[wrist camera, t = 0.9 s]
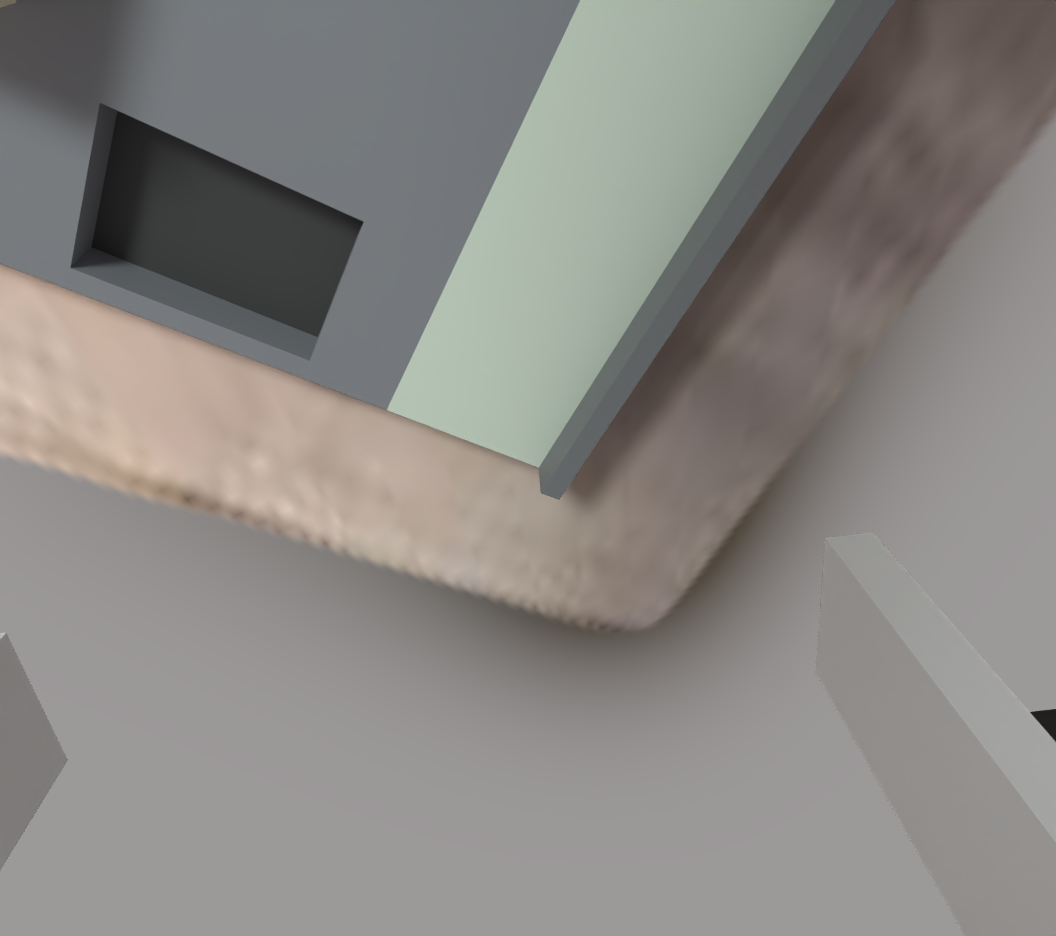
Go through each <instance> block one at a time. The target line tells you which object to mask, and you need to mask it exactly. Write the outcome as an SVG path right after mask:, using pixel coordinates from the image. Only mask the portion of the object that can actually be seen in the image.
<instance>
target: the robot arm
mask: <svg viewBox="0 0 1056 936" xmlns="http://www.w3.org/2000/svg"><path fill="white" fill-rule="evenodd" d="M816 660H817V661H816V674H817V676H818V678H819V679H820V681H821V683H822V685H823V687H824V689H825V690H826V692H827V694H828V696H829V697H830V699H831V701H832V703H833V704H834V706H835V708H836V710H837V711H838V713H839V715H840V717H841V719H842V720H843V722H844V724H845V726H846V727H847V729H848V731H849V733H850V734H851V736H852V738H853V740H854V741H855V743H856V745H857V747H858V748H859V750H860V752H861V754H862V755H863V757H864V759H865V761H866V762H867V764H868V766H869V768H870V770H871V771H872V773H873V775H874V777H875V778H876V780H877V782H878V784H879V785H880V787H881V789H882V791H883V792H884V794H885V796H886V798H887V800H888V801H889V803H890V805H891V806H892V808H893V810H894V812H895V814H896V815H897V817H898V819H899V821H900V823H901V824H902V826H903V828H904V829H905V831H906V833H907V835H908V837H909V838H910V840H911V842H912V844H913V845H914V847H915V849H916V851H917V852H918V854H919V856H920V858H921V860H922V861H923V863H924V865H925V867H926V868H927V870H928V872H929V874H930V875H931V877H932V879H933V881H934V882H935V884H936V886H937V888H938V889H939V891H940V893H941V895H942V896H943V898H944V900H945V902H946V904H947V905H948V907H949V909H950V911H951V912H952V914H953V916H954V918H955V919H956V921H957V923H958V925H959V927H960V928H961V930H962V932H963V933H964V935H965V936H1056V709H1052V710H1044V711H1035V712H1029V711H1028V710H1027V709H1026V707H1025V706H1024V705H1023V704H1022V703H1021V702H1020V700H1019V699H1018V698H1017V697H1016V696H1015V695H1014V694H1013V692H1012V691H1011V690H1010V689H1009V688H1008V687H1007V685H1006V684H1005V683H1004V682H1003V681H1002V680H1001V679H1000V678H999V676H997V674H996V673H995V672H994V671H993V669H992V668H991V667H990V666H989V665H988V664H987V663H986V662H985V660H984V659H983V658H982V657H981V656H980V655H979V653H978V652H977V651H976V650H975V649H974V648H973V647H972V645H971V644H970V643H969V642H968V641H967V640H966V639H965V637H964V636H963V635H962V634H961V633H960V632H959V630H958V629H957V628H956V627H955V626H954V625H953V624H952V622H950V620H949V619H948V618H947V617H946V616H945V614H944V613H943V612H942V611H941V610H940V609H939V608H938V606H937V605H936V604H935V603H934V602H933V601H932V600H931V598H930V597H929V596H928V595H927V594H926V593H925V592H924V590H923V589H922V588H921V587H920V586H919V585H918V584H917V582H916V581H915V580H914V579H913V578H912V577H911V575H910V574H909V573H908V572H907V571H906V570H905V569H904V567H903V566H902V565H901V564H900V563H899V562H898V561H897V559H896V558H895V557H894V556H893V555H892V554H891V553H890V551H889V550H888V549H887V548H886V547H885V546H884V545H883V543H882V542H881V541H880V540H879V539H878V538H877V537H876V535H875V534H874V533H873V532H869V533H861V534H852V535H843V536H835V537H826V538H825V545H824V560H823V573H822V588H821V603H820V616H819V630H818V646H817V659H816ZM66 762H67V758H66V756H65V754H64V751H63V750H62V747H61V745H60V743H59V741H58V739H57V737H56V735H55V733H54V731H53V729H52V727H51V724H50V722H49V720H48V718H47V716H46V714H45V712H44V710H43V708H42V706H41V704H40V702H39V700H38V698H37V695H36V693H35V692H34V689H33V687H32V685H31V683H30V681H29V679H28V677H27V675H26V673H25V671H24V669H23V666H22V664H21V662H20V660H19V658H18V656H17V654H16V652H15V650H14V648H13V646H12V644H11V642H10V640H9V638H8V635H7V633H0V870H1V868H2V867H3V865H4V863H5V862H6V860H7V858H8V857H9V855H10V853H11V852H12V850H13V849H14V847H15V845H16V844H17V842H18V840H19V839H20V837H21V836H22V834H23V832H24V831H25V829H26V827H27V826H28V824H29V822H30V821H31V819H32V818H33V816H34V814H35V813H36V811H37V809H38V808H39V806H40V804H41V803H42V801H43V800H44V798H45V796H46V795H47V793H48V791H49V790H50V788H51V786H52V785H53V783H54V782H55V780H56V778H57V777H58V775H59V773H60V772H61V770H62V769H63V767H64V765H65V764H66Z"/></svg>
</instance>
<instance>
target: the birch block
mask: <svg viewBox="0 0 1056 936" xmlns="http://www.w3.org/2000/svg"><path fill="white" fill-rule="evenodd" d="M14 3H16V0H0V8H1V7H4V6H7V5H11V4H14Z"/></svg>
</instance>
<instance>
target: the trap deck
mask: <svg viewBox="0 0 1056 936" xmlns="http://www.w3.org/2000/svg"><path fill="white" fill-rule="evenodd" d="M895 1H896V0H16V3H14V4H11V5H7V6H4V7H1V8H0V264H3V265H5V266H8V267H11V268H13V269H16V270H19V271H21V272H24V273H26V274H29V275H32V276H34V277H37V278H40V279H42V280H45V281H48V282H50V283H53V284H56V285H58V286H61V287H63V288H66V289H69V290H71V291H74V292H77V293H79V294H82V295H85V296H87V297H90V298H92V299H95V300H98V301H100V302H103V303H106V304H108V305H111V306H114V307H116V308H119V309H121V310H124V311H127V312H129V313H132V314H135V315H137V316H140V317H143V318H145V319H148V320H150V321H153V322H156V323H158V324H161V325H164V326H166V327H169V328H172V329H174V330H177V331H179V332H182V333H185V334H187V335H190V336H193V337H195V338H198V339H201V340H203V341H206V342H208V343H211V344H214V345H216V346H219V347H222V348H224V349H227V350H230V351H232V352H235V353H237V354H240V355H243V356H245V357H248V358H251V359H253V360H256V361H259V362H261V363H264V364H266V365H269V366H272V367H274V368H277V369H280V370H282V371H285V372H288V373H290V374H293V375H295V376H298V377H301V378H303V379H306V380H309V381H311V382H314V383H317V384H319V385H322V386H324V387H327V388H330V389H332V390H335V391H338V392H340V393H343V394H346V395H348V396H351V397H353V398H356V399H359V400H361V401H364V402H367V403H369V404H372V405H375V406H377V407H380V408H383V409H385V410H388V411H390V412H393V413H396V414H398V415H401V416H404V417H406V418H409V419H412V420H414V421H417V422H419V423H422V424H425V425H427V426H430V427H433V428H435V429H438V430H441V431H443V432H446V433H448V434H451V435H454V436H456V437H459V438H462V439H464V440H467V441H470V442H472V443H475V444H477V445H480V446H483V447H485V448H488V449H491V450H493V451H496V452H499V453H501V454H504V455H506V456H509V457H512V458H514V459H517V460H520V461H522V462H525V463H528V464H530V465H533V466H535V467H538V468H539V477H540V488H541V493H542V494H545V495H548V496H550V497H553V498H556V499H559V500H560V498H561V497H562V495H563V494H564V492H565V491H566V489H567V488H568V486H569V485H570V483H571V482H572V480H573V479H574V477H575V476H576V474H577V473H578V471H579V470H580V468H581V467H582V465H583V464H584V462H585V461H586V459H587V458H588V457H589V455H590V454H591V452H592V451H593V449H594V448H595V446H596V445H597V443H598V442H599V440H600V439H601V437H602V436H603V434H604V433H605V431H606V430H607V428H608V427H609V425H610V424H611V422H612V421H613V419H614V418H615V416H616V415H617V413H618V412H619V410H620V409H621V408H622V406H623V405H624V403H625V402H626V400H627V399H628V397H629V396H630V394H631V393H632V391H633V390H634V388H635V387H636V385H637V384H638V382H639V381H640V379H641V378H642V376H643V375H644V373H645V372H646V370H647V369H648V367H649V366H650V364H651V363H652V362H653V360H654V359H655V357H656V356H657V354H658V353H659V351H660V350H661V348H662V347H663V345H664V344H665V342H666V341H667V339H668V338H669V336H670V335H671V333H672V332H673V330H674V329H675V327H676V326H677V324H678V323H679V321H680V320H681V318H682V317H683V315H684V314H685V313H686V311H687V310H688V308H689V307H690V305H691V304H692V302H693V301H694V299H695V298H696V296H697V295H698V293H699V292H700V290H701V289H702V287H703V286H704V284H705V283H706V281H707V280H708V278H709V277H710V275H711V274H712V272H713V271H714V269H715V268H716V267H717V265H718V264H719V262H720V261H721V259H722V258H723V256H724V255H725V253H726V252H727V250H728V249H729V247H730V246H731V244H732V243H733V241H734V240H735V238H736V237H737V235H738V234H739V232H740V231H741V229H742V228H743V226H744V225H745V223H746V222H747V221H748V219H749V218H750V216H751V215H752V213H753V212H754V210H755V209H756V207H757V206H758V204H759V203H760V201H761V200H762V198H763V197H764V195H765V194H766V192H767V191H768V189H769V188H770V186H771V185H772V183H773V182H774V180H775V179H776V177H777V176H778V174H779V173H780V172H781V170H782V169H783V167H784V166H785V164H786V163H787V161H788V160H789V158H790V157H791V155H792V154H793V152H794V151H795V149H796V148H797V146H798V145H799V143H800V142H801V140H802V139H803V137H804V136H805V134H806V133H807V131H808V130H809V128H810V127H811V126H812V124H813V123H814V121H815V120H816V118H817V117H818V115H819V114H820V112H821V111H822V109H823V108H824V106H825V105H826V103H827V102H828V100H829V99H830V97H831V96H832V94H833V93H834V91H835V90H836V88H837V87H838V85H839V84H840V82H841V81H842V79H843V78H844V77H845V75H846V74H847V72H848V71H849V69H850V68H851V66H852V65H853V63H854V62H855V60H856V59H857V57H858V56H859V54H860V53H861V51H862V50H863V48H864V47H865V45H866V44H867V42H868V41H869V39H870V38H871V36H872V35H873V33H874V32H875V31H876V29H877V28H878V26H879V25H880V23H881V22H882V20H883V19H884V17H885V16H886V14H887V13H888V11H889V10H890V8H891V7H892V5H893V4H894V2H895Z"/></svg>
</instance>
